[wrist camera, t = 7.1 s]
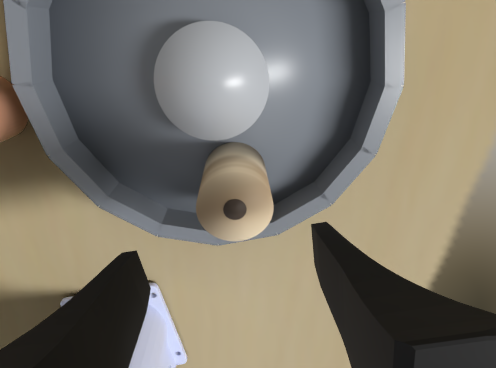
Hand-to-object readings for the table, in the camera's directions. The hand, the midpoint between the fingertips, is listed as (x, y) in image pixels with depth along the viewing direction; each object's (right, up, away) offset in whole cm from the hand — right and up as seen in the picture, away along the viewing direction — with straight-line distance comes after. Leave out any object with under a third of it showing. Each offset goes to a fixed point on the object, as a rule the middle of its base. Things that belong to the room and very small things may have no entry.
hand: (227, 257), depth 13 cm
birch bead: (0, +4, +8) cm, 9 cm away
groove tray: (-1, +9, +6) cm, 11 cm away
